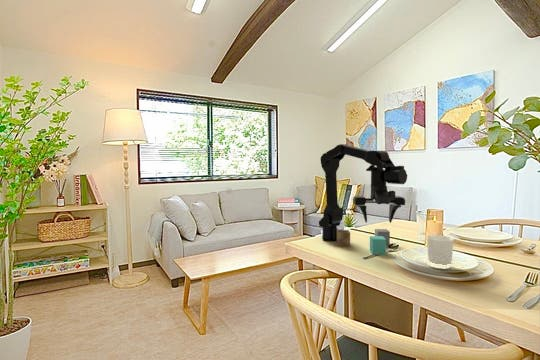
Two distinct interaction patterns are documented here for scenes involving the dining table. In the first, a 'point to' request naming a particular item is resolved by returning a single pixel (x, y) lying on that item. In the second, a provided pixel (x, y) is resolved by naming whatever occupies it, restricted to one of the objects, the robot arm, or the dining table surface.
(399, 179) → the robot arm
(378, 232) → the grey block
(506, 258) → the dining table surface
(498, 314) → the dining table surface
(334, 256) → the dining table surface
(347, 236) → the walnut block
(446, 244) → the white cup
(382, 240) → the teal block
